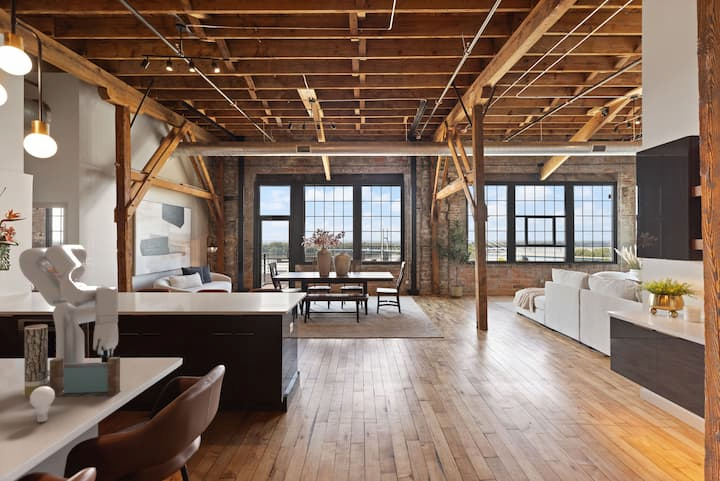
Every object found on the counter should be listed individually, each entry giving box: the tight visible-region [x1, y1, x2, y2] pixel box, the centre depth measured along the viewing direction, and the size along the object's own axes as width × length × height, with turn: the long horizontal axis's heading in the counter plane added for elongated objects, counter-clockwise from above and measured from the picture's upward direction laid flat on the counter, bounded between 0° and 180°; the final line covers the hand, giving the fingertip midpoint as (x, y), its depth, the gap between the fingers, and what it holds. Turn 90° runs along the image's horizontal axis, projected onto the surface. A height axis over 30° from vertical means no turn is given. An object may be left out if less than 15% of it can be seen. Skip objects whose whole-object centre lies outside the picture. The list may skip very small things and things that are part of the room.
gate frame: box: [49, 356, 122, 398], centre depth 163 cm, size 23×4×13 cm, turn 96°
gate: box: [63, 362, 108, 393], centre depth 163 cm, size 16×2×10 cm, turn 96°
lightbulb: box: [29, 386, 56, 424], centre depth 138 cm, size 6×6×11 cm
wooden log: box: [23, 323, 49, 399], centre depth 162 cm, size 7×7×25 cm
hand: (106, 366), depth 171 cm, fingers closed
